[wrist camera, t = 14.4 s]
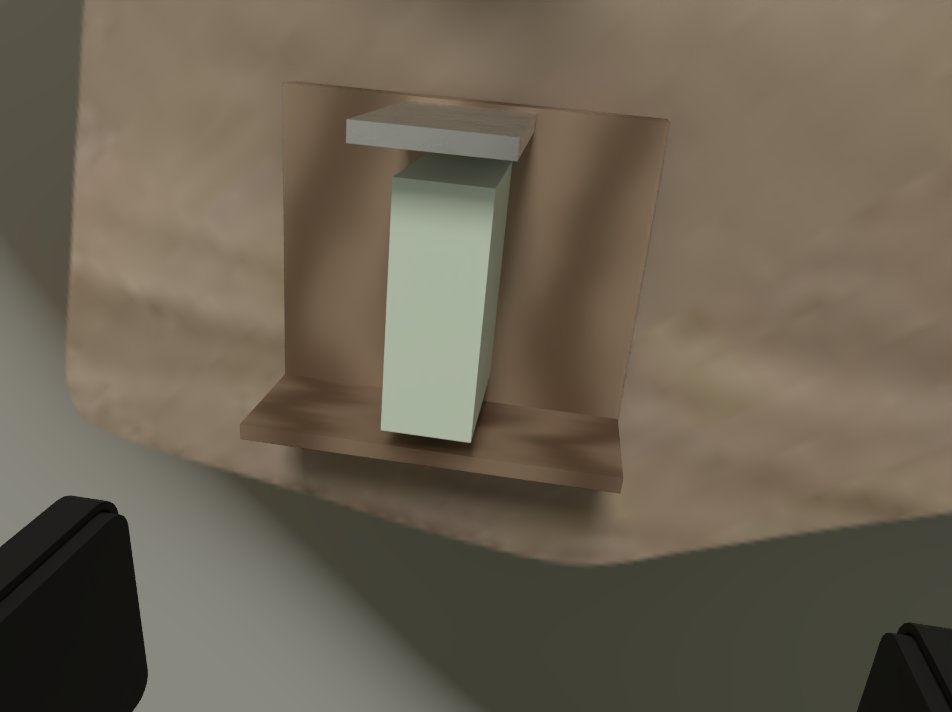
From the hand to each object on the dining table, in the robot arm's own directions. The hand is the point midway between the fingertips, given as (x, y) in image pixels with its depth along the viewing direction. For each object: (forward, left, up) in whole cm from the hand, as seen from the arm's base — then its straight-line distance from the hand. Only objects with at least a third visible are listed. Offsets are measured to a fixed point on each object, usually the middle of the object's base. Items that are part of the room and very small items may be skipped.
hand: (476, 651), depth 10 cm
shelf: (+4, +4, -31) cm, 31 cm away
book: (+4, +4, -29) cm, 30 cm away
